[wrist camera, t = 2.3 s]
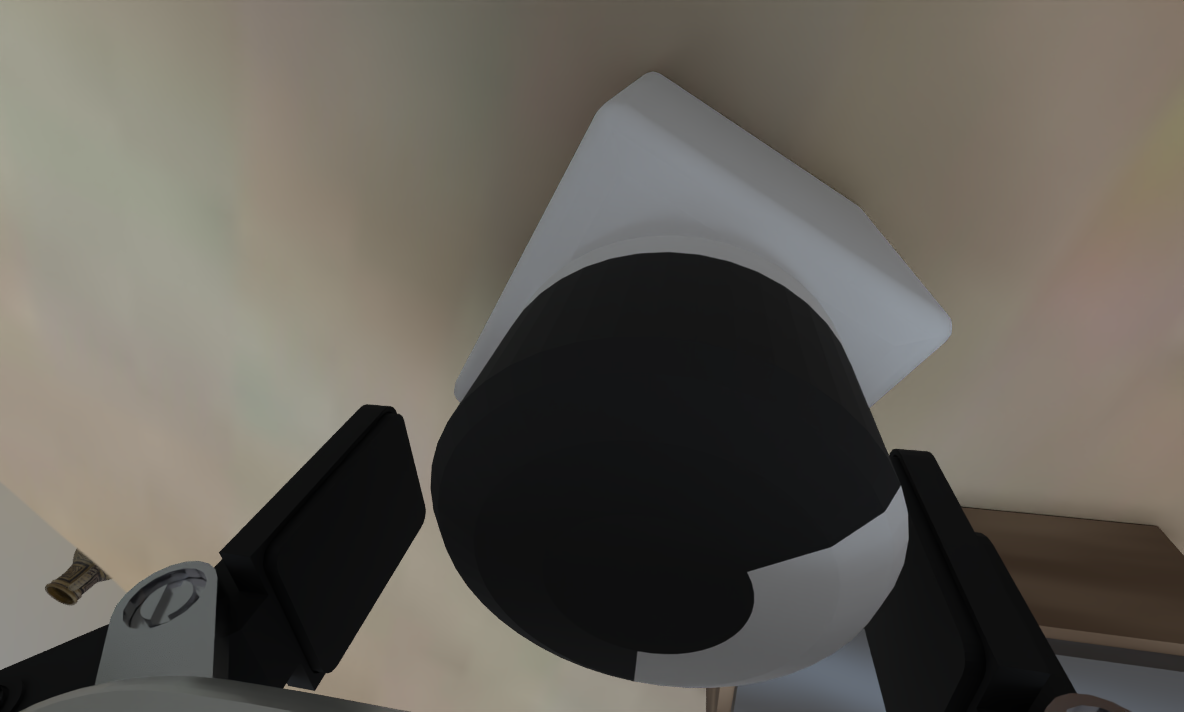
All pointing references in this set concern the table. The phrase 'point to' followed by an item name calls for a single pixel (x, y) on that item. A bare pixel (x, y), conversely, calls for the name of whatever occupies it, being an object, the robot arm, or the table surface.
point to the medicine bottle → (686, 409)
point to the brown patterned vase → (76, 580)
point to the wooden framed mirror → (1039, 619)
